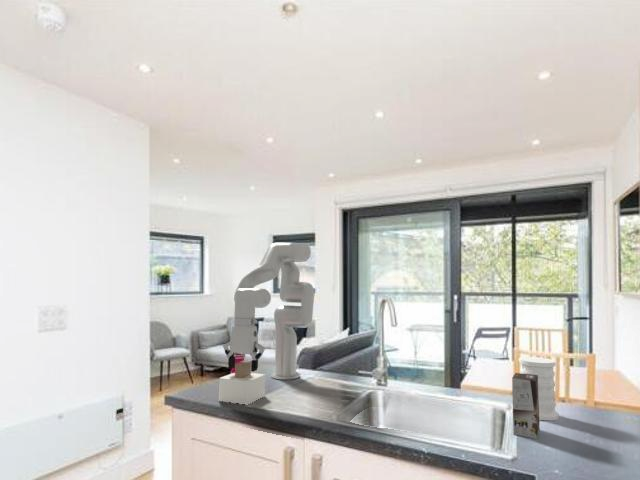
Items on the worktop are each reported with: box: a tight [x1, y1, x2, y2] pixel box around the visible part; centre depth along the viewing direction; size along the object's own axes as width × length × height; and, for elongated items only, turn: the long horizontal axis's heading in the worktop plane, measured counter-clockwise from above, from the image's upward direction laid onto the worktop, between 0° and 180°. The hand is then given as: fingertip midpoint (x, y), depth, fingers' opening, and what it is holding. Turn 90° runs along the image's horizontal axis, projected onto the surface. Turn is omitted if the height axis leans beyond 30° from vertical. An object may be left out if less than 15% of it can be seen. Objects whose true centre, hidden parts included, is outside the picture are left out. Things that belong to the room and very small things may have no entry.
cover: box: [218, 360, 266, 406], centre depth 153 cm, size 12×12×13 cm
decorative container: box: [518, 356, 560, 421], centre depth 139 cm, size 12×12×18 cm
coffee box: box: [511, 372, 540, 440], centre depth 123 cm, size 9×6×16 cm
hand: (242, 369), depth 153 cm, fingers open, 9 cm apart
